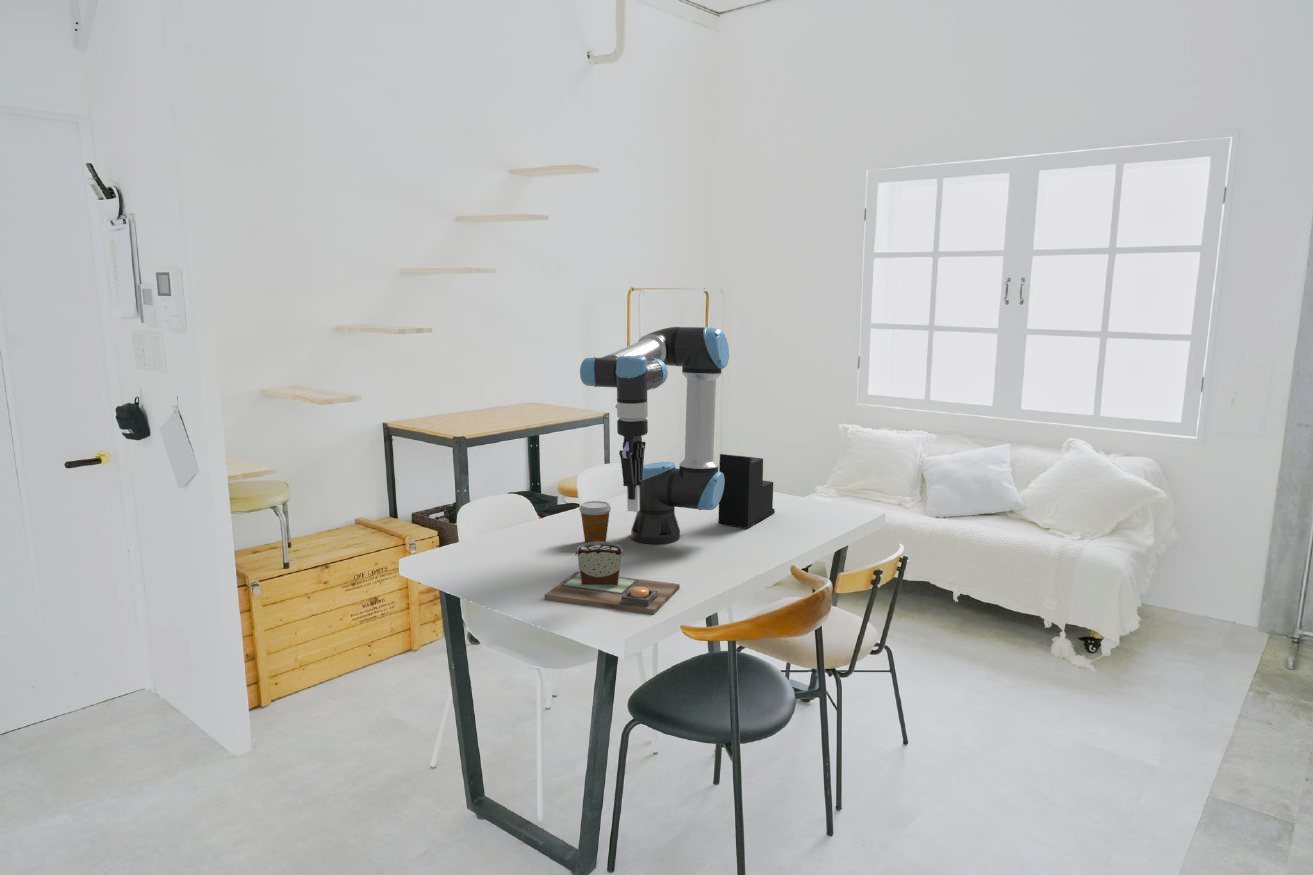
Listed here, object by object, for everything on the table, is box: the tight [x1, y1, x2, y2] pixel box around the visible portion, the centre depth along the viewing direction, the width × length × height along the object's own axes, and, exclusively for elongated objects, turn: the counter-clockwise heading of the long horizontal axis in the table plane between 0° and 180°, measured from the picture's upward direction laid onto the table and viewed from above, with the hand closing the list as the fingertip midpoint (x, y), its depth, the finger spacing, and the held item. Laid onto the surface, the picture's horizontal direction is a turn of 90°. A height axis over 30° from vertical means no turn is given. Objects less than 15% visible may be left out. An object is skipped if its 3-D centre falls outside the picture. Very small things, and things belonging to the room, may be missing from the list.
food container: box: [574, 541, 625, 586], centre depth 225 cm, size 12×6×10 cm, turn 89°
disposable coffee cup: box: [578, 500, 612, 543], centre depth 263 cm, size 10×10×12 cm
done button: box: [631, 587, 649, 599], centre depth 213 cm, size 4×4×2 cm
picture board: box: [544, 570, 681, 615], centre depth 221 cm, size 19×29×3 cm, turn 70°
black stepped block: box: [717, 453, 776, 529], centre depth 291 cm, size 23×11×24 cm, turn 150°
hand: (633, 510), depth 220 cm, fingers closed
